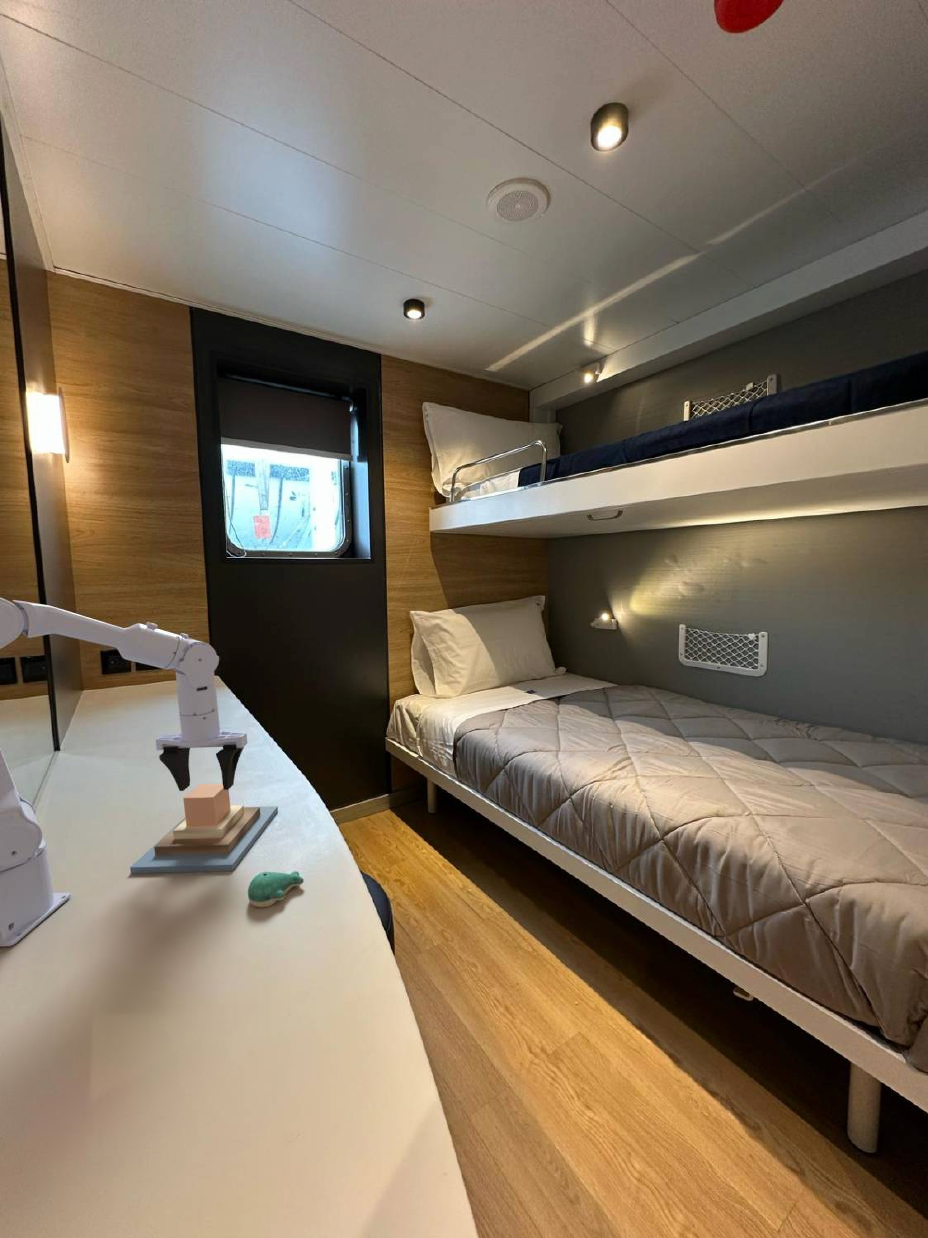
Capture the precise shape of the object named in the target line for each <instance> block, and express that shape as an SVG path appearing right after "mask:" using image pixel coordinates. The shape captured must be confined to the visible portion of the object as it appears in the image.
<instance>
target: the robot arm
mask: <svg viewBox="0 0 928 1238" xmlns="http://www.w3.org/2000/svg"><path fill="white" fill-rule="evenodd" d="M12 601H13V602H14V603H15V604H14V603H13V602H12ZM12 601H9V600H7V599H5V598H2V597H0V650H1V649H2V648H4V647H7V646H8V645H9V644H10V643H12V642H14V641H15V640H16V639H18V637H19V636H20V635H21V634H23V635H24V637H26V638H28V639H31V638H35V637H37V638H38V637H42V636H45V635H52V634H54V635H60V636H64V637H68V638H71V639H72V638H73V639H78V640H80V641H81V640H82V641H86V642H89V643H94V644H99V645H103V646H108V647H111V648H115V649H117V651H118V652H119V654H120V656H121V657H122V659H124V660H127V661H130V662H131V661H132V662H134V663H135V662H136V663H139V664H144V665H148V666H152V667H156V668H160V669H163V670H174V672H175V678H176V694H177V703H178V704H177V705H178V714H179V724H180V730H181V731H180V732H181V733H173V734H165V735H164V734H163V735H161V736H159V737H157V738H156V739H155V748H156V751H162V753H161V754H159V756H158V757H159V758H158V759H159V761H161V762H162V763H163V765H164V766H165V767H166V768H167V769H168V771H169V773H170V774H171V776H172V778H173V779H174V782H175V783H176V786H177V788H178V790H179V792H184V791H185V790H186V789H187V788H189V787H190V785H191V775H190V753H191V752H190V751H191V749H197V748H222V749H220V750H218V752H216V753H215V756H216V759H217V761H218V765H219V768H220V772H221V779H222V780H221V782H222V784H223V788H224V790H228V789H229V790H230V789H231V788H232V787H233V786H234V785H235V784H234V781H235V775H236V771H237V768H238V767H237V766H238V763H239V761H240V758H241V757H240V756H241V755H242V752H243V750H244V748H245V746H246V745H247V744H248V734H247V733H248V732H233V731H227V730H226V731H225V730H221V728H220V727H221V726H220V719H219V718H220V717H219V706H218V696H217V695H218V693H217V684H216V679H215V677H216V676H215V671H216V670H217V668H218V665H219V661H220V656H218V655H217V652H216V650H215V649H214V647H212V645H211V644H209V643H207V642H204V641H200V640H197V639H193V638H192V637H189V634H186V633H182V632H181V633H180V634H177V633H173V632H170V631H167V630H166V631H165V630H163V629H159V628H158V624H156V623H152V622H150V621H147V622H146V623H145V624H142V623H135V624H133V625H130V626H128V627H124V628H123V627H120V626H118V625H114V624H110V623H108V622H105V621H100V620H97V619H94V618H91V617H87V616H84V615H81V614H78V613H74V612H72V611H68V610H65V609H62V608H58V607H56V606H55V607H54V606H52V605H47V604H41V603H36V602H29V601H23V600H15V599H12ZM34 807H35V806H34V805H33V804H32V803H31V802H30V801H28V800H27V799H25V798H23V797H22V796H21V795H20V793H19V792H18V789H17V786H16V783H15V781H14V779H13V776H12V773H11V772H10V768H9V765H8V762H7V761H6V757H5V755H4V753H3V750H2V748H1V746H0V947H11V946H14V945H15V944H17V943H18V942H19V941H20V940H21V939H23V938H24V937H25V936H26V935H27V934H29V932H31V931H32V930H33V929H34V928H35V927H37V926H38V925H39V924H40V923H41V922H42V921H44V920H45V919H46V918H48V916H50V915H51V914H52V913H53V912H54V911H55V910H57V909H58V908H59V907H60V906H62V905H63V903H65V902H66V901H67V900H69V899H70V898H71V897H72V893H71V892H54V888H53V887H54V886H53V881H52V874H51V867H50V861H49V854H48V847H47V841H46V840H45V838H43V830H42V828H41V826H40V824H39V823H38V821H37V818H36V810H35V808H34Z"/></svg>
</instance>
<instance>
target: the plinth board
mask: <svg viewBox="0 0 928 1238" xmlns="http://www.w3.org/2000/svg"><path fill="white" fill-rule="evenodd" d="M278 807H279V806H278V805H275V806H274V805H272V806H245V805H244V804H235V805H234V804H233V805H231V804H230V809H231V811H230V812H229V813H228V814H227V815H226V816H225V817H224V818H223V819H222V820H221V821H220V822H219V823H218V824H217V825H216V826H186V818H185V817H184V818H183V819H181V821H180V822H178V823H177V824H176V825H175V826H174V827H173V828H172V829H171V830H170V831H168V832H167V833H166V834H165V835H164V836H163V837H162V838H161V839H160V840H158V841H157V842H156V843H155V844H154V845H153V846H151V848H149V850H147V851H146V853H144V854H143V855H142V856H141V857H140V858H139V859H137V860H136V862H134V863H133V864H132V865H131V866H130V874H148V873H149V874H153V873H155V874H158V873H159V874H161V873H162V874H163V873H188V872H189V873H191V872H192V873H193V872H231V871H232V872H233V871H234V870H235V868H236V867H237V866H238V865H239V864H240V862H241V861H242V860H243V858H244V857H245V855H246V854H247V853H248V851H249V850H250V849H251V847H252V846H253V844H254V843H255V842H256V841H257V840H258V838H259V837H260V836H261V834H262V833H263V831H264V830H265V829H266V828H267V827H268V825H269V824H270V823H271V821H272V820H273V819H274V818H275V816H276V814H277V813H278V812H279V808H278Z"/></svg>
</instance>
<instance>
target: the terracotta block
mask: <svg viewBox="0 0 928 1238" xmlns="http://www.w3.org/2000/svg"><path fill="white" fill-rule="evenodd" d="M229 790H230V789H228V790H224V788H223V783H204V784H203V783H200V784H199V785H197V786H196V787H195V788H193V789H191V791H190V792H189V793H187V794H186V795H185V796H184V797H183V798H182V799H183V807H184V816H185V817H184V818H186V826H216V825H217V824H218V823H219V822H220V821H221V820H222V819H223V818H224V817H225V816H226V815H227V814H228V813H229V812H230V811H231V809H230V805H231V801H230V791H229Z"/></svg>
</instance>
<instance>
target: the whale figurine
mask: <svg viewBox="0 0 928 1238" xmlns="http://www.w3.org/2000/svg"><path fill="white" fill-rule="evenodd" d="M302 884H304V879H303V877H301V876H300V873H299V872H298V871H296V870H295V871H292V872H291V873H284V872H277V871H276V872H273V871H262V872H260V873H258V874H257V875H255V876H254V877H253V878H252V880H251V881H250V883H249V886H248V888H247V889H248V890H247V897H248V901H249V903H250V904H251V905H252V906H254V907H257V908H268V907H270V906H272V905H275V903H277V902H278V901H282V900H284V899H285V897H286V894H287V893H288V892H289V891H290V890H291V889H292V888H293V887H298V886H301V885H302Z"/></svg>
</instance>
